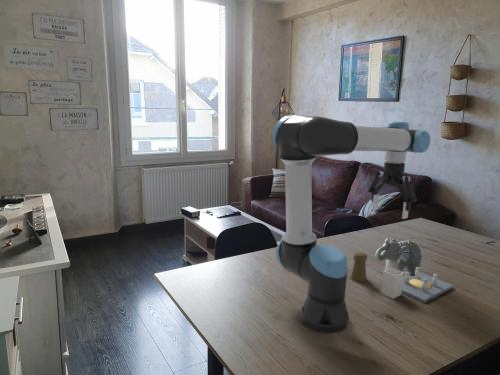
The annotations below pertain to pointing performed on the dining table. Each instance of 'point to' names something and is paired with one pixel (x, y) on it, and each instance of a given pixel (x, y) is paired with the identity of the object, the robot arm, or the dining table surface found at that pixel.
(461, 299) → the dining table surface
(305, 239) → the robot arm
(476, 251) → the dining table surface
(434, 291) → the pin board
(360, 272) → the cork
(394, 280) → the cream plug
